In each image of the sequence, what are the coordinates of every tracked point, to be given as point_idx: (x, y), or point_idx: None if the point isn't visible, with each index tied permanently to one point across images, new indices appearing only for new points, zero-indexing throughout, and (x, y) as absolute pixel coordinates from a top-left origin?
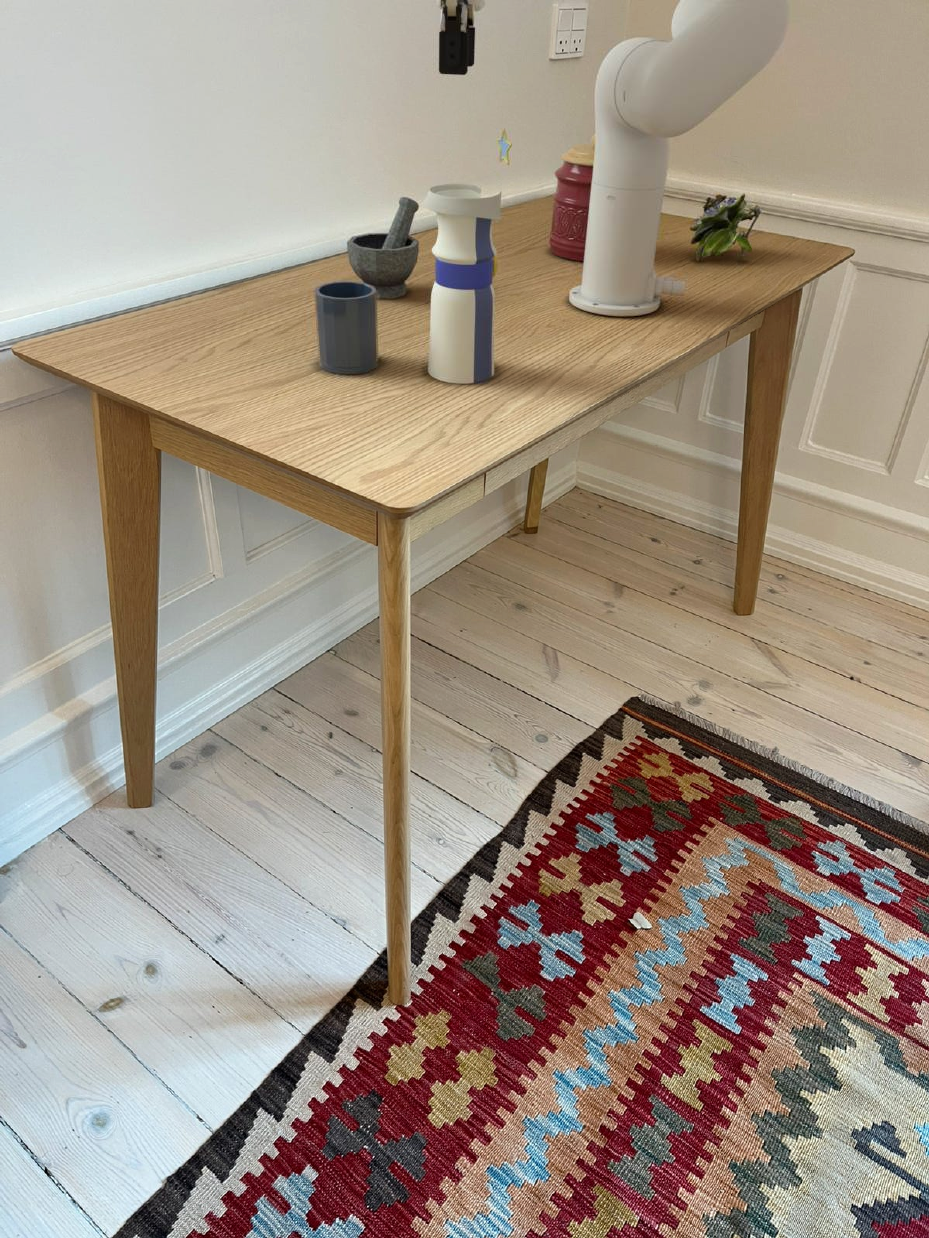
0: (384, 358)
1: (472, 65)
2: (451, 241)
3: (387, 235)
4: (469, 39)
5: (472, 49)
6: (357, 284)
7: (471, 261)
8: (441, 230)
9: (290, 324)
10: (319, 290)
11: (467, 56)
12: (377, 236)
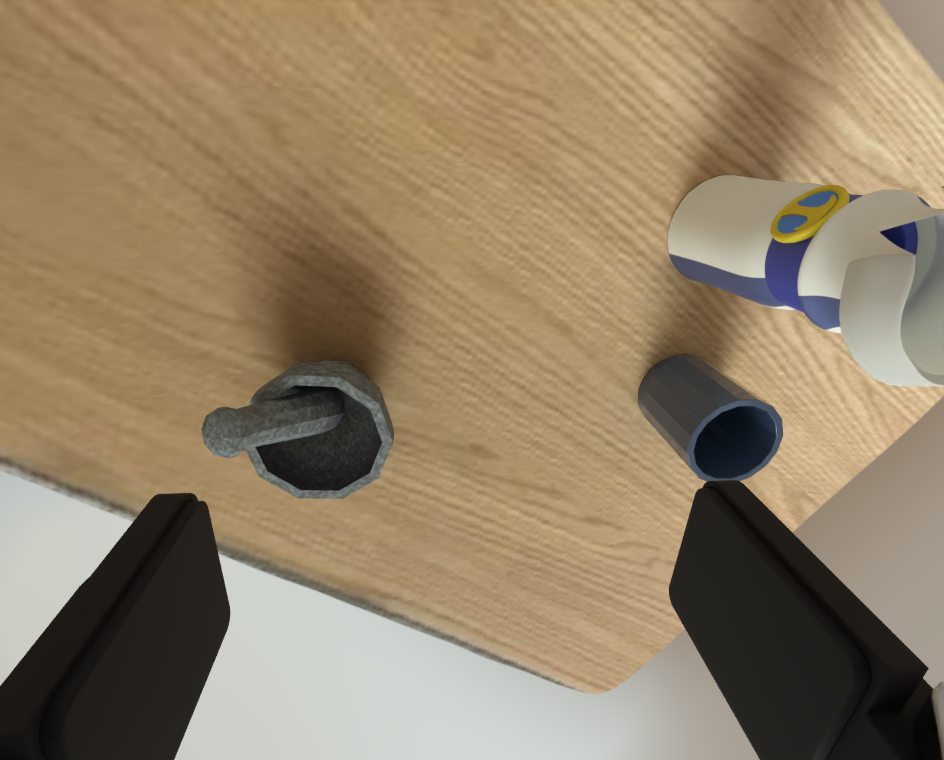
0: (655, 349)
1: (190, 497)
2: (936, 297)
3: (288, 439)
4: (122, 660)
5: (152, 573)
6: (699, 432)
7: (932, 245)
8: (920, 326)
9: (518, 491)
10: (726, 477)
11: (794, 538)
12: (262, 457)
